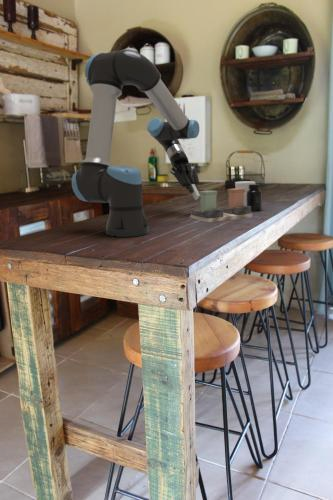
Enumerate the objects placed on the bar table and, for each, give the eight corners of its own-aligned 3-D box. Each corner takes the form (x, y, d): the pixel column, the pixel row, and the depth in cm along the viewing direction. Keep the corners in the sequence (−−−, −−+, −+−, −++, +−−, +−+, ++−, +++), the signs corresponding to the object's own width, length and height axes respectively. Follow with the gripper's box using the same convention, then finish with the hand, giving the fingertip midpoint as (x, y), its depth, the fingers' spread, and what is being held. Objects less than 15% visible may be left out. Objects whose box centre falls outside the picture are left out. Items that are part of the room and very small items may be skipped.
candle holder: (231, 206, 216) (231, 182, 213) (249, 205, 219) (249, 181, 216) (240, 208, 207) (240, 183, 204) (258, 207, 210) (259, 182, 207)
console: (208, 222, 170) (208, 211, 169) (190, 218, 183) (189, 207, 182) (252, 217, 180) (252, 206, 179) (232, 213, 193) (232, 203, 191)
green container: (205, 216, 174) (205, 192, 172) (199, 215, 178) (199, 191, 175) (217, 215, 176) (217, 191, 174) (211, 214, 180) (210, 190, 178)
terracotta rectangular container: (234, 213, 180) (234, 189, 178) (227, 212, 184) (227, 189, 182) (244, 212, 183) (245, 188, 180) (238, 211, 187) (238, 188, 184)
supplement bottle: (260, 209, 202) (261, 183, 200) (262, 211, 196) (262, 184, 193) (245, 209, 203) (246, 183, 200) (247, 211, 196) (247, 185, 194)
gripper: (187, 162, 199) (207, 202, 189) (162, 163, 194) (181, 204, 183) (193, 150, 194) (213, 190, 183) (167, 151, 188) (187, 193, 177)
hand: (197, 197), depth 183 cm, fingers closed
